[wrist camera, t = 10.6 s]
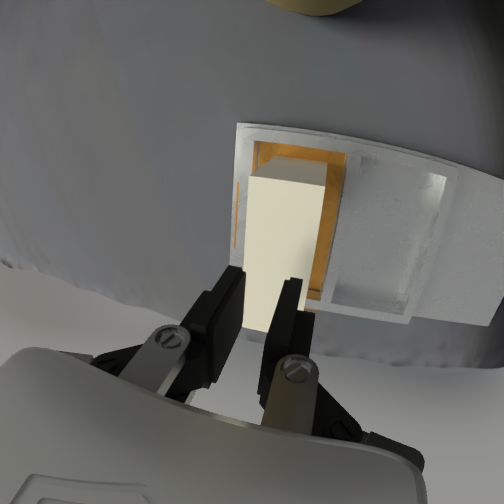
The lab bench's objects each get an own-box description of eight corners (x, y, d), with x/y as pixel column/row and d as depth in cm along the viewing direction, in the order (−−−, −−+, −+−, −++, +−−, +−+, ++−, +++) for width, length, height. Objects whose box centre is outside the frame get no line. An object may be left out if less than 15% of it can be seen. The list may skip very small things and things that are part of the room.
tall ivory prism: (327, 162, 19) (325, 186, 13) (309, 278, 23) (297, 338, 17) (275, 155, 19) (248, 175, 13) (265, 269, 24) (240, 326, 18)
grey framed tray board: (534, 193, 15) (550, 202, 13) (485, 321, 21) (493, 337, 19) (240, 122, 20) (229, 123, 18) (231, 277, 26) (222, 292, 24)
